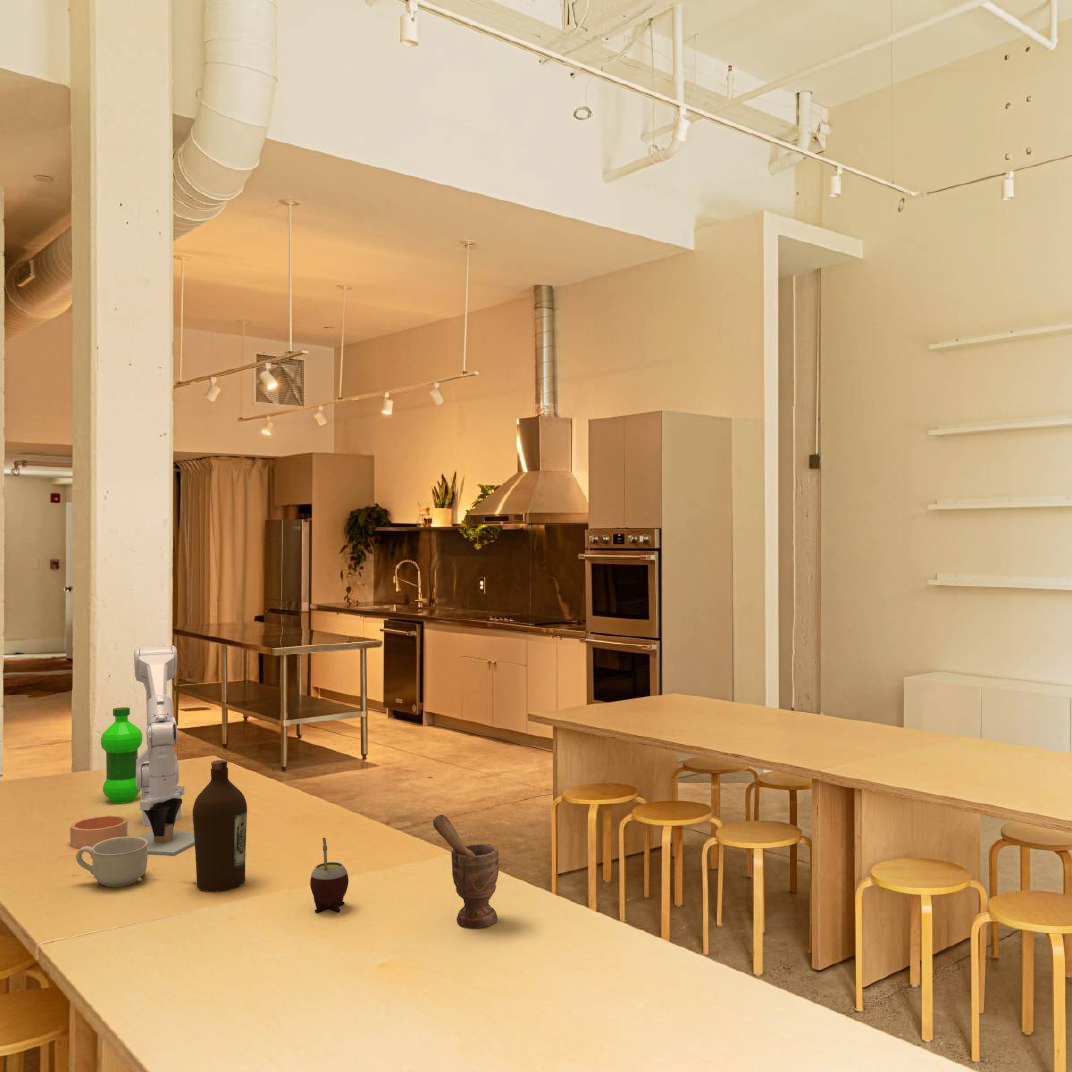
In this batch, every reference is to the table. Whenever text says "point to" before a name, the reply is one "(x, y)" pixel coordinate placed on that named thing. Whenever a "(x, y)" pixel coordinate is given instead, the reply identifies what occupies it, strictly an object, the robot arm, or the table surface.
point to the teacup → (116, 860)
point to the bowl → (97, 830)
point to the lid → (168, 841)
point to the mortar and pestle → (472, 875)
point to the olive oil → (220, 832)
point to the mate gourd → (329, 884)
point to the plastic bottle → (121, 757)
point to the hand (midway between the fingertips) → (163, 833)
